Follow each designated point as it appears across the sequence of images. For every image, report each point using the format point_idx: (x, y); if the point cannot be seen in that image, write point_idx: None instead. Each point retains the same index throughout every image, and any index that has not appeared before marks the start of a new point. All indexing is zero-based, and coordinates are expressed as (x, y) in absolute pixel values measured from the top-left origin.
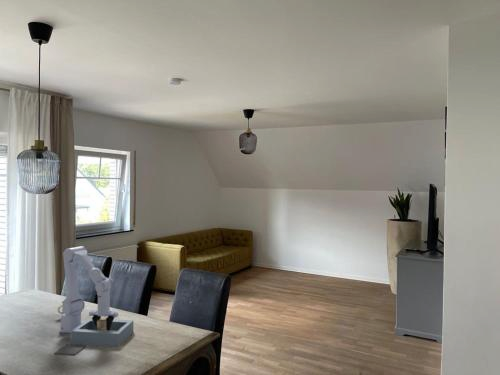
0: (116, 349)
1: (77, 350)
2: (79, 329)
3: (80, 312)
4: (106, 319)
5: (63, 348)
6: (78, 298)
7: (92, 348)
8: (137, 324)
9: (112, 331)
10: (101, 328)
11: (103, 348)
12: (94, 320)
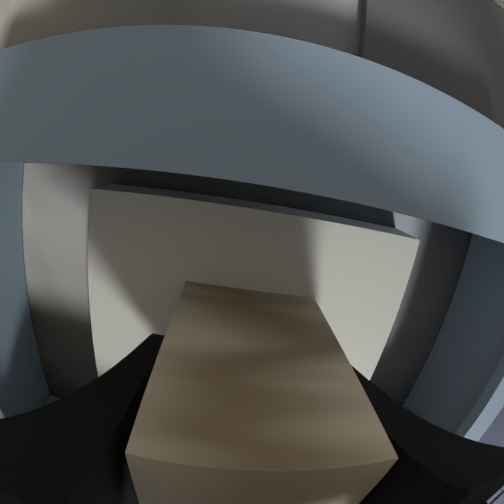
0: (29, 31)
1: None
2: None
3: (502, 500)
4: (54, 485)
5: (499, 60)
6: None
7: (265, 13)
8: None
9: None
10: (255, 346)
11: (141, 18)
12: (455, 451)
